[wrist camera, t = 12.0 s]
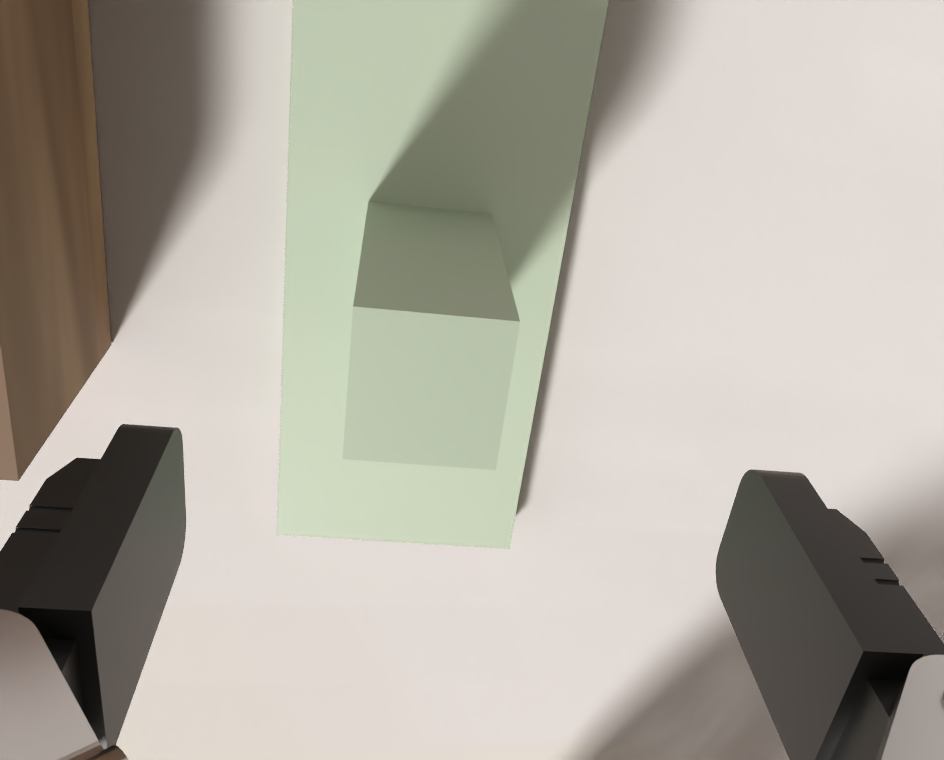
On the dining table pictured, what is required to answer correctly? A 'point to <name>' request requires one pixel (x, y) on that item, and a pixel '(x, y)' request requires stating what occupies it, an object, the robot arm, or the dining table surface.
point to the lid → (424, 257)
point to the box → (47, 223)
